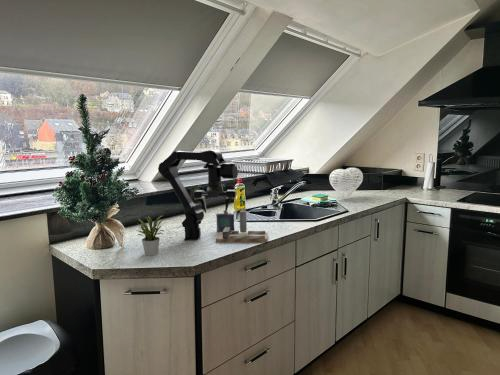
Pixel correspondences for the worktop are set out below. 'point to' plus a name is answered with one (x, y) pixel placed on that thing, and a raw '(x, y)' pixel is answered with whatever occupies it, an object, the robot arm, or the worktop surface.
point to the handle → (243, 224)
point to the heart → (341, 171)
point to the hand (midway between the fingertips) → (215, 212)
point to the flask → (225, 221)
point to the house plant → (150, 236)
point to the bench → (241, 236)
